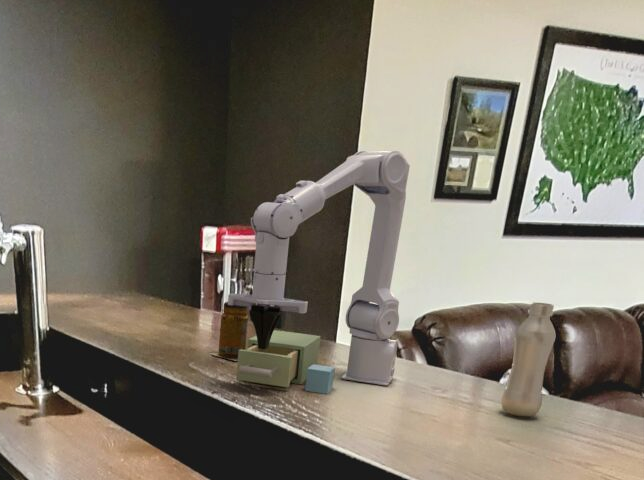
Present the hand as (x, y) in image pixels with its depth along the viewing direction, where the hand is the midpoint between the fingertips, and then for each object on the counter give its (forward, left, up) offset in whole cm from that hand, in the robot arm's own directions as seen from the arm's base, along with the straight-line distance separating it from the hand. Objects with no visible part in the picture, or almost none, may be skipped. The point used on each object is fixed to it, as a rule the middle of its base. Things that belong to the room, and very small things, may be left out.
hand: (263, 348), depth 134 cm
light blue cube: (-10, -7, -8) cm, 15 cm away
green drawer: (0, -6, -7) cm, 9 cm away
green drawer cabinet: (0, -16, -8) cm, 18 cm away
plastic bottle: (-46, -11, -8) cm, 48 cm away
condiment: (+14, -25, -8) cm, 30 cm away
